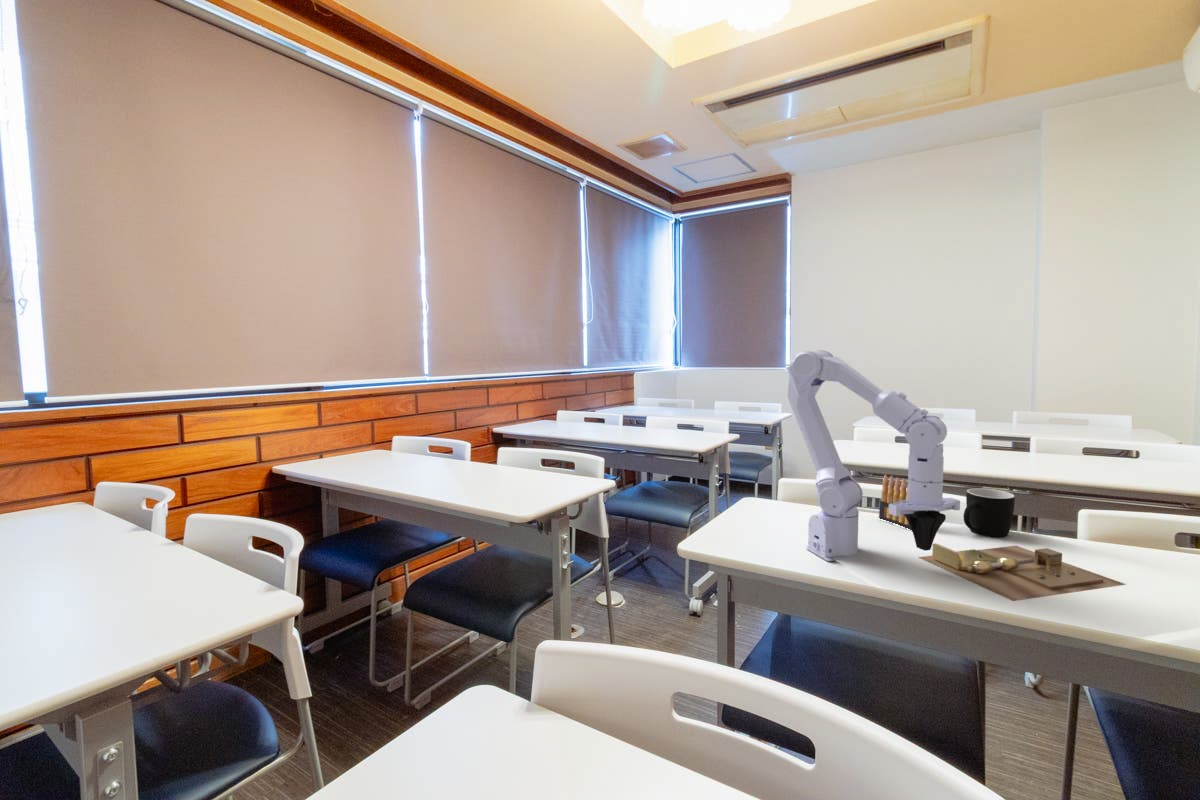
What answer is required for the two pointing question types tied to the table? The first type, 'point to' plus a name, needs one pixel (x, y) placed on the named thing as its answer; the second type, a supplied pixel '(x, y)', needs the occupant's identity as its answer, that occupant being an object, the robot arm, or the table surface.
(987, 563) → the leaf
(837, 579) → the table surface
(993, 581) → the plank
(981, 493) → the mug
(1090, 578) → the hinge base
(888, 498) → the ammunition clip
